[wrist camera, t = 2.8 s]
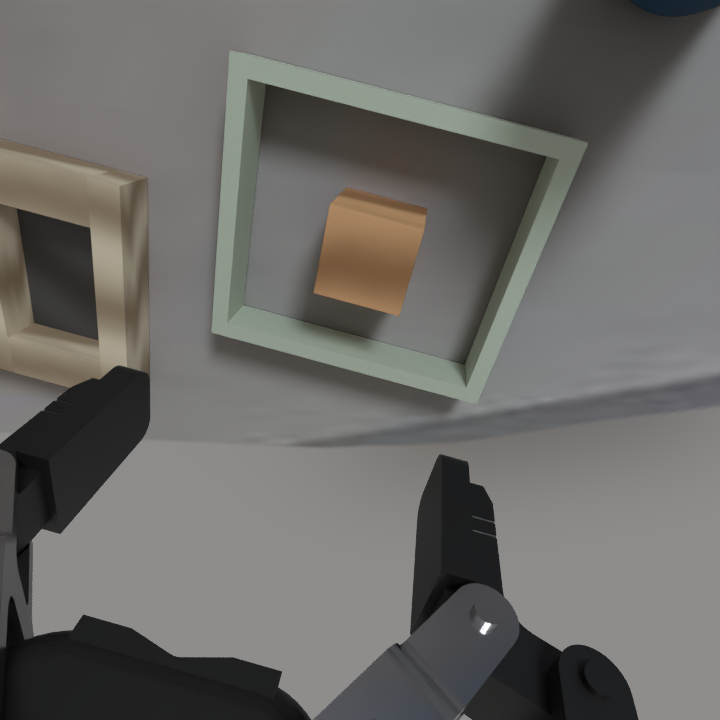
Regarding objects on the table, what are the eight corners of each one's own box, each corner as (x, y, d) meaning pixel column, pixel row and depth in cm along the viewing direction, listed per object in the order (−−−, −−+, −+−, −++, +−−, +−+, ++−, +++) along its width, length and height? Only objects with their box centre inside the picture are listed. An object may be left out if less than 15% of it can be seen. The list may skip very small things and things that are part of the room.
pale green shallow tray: (250, 54, 26) (229, 50, 23) (574, 137, 26) (588, 143, 23) (229, 314, 34) (211, 332, 32) (473, 380, 34) (476, 404, 31)
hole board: (-123, 106, 31) (-175, 108, 28) (147, 177, 30) (119, 185, 28) (-63, 324, 39) (-100, 341, 36) (149, 382, 38) (128, 404, 36)
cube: (346, 187, 29) (329, 204, 25) (427, 208, 29) (424, 229, 24) (331, 264, 31) (313, 293, 27) (405, 284, 31) (399, 316, 27)
